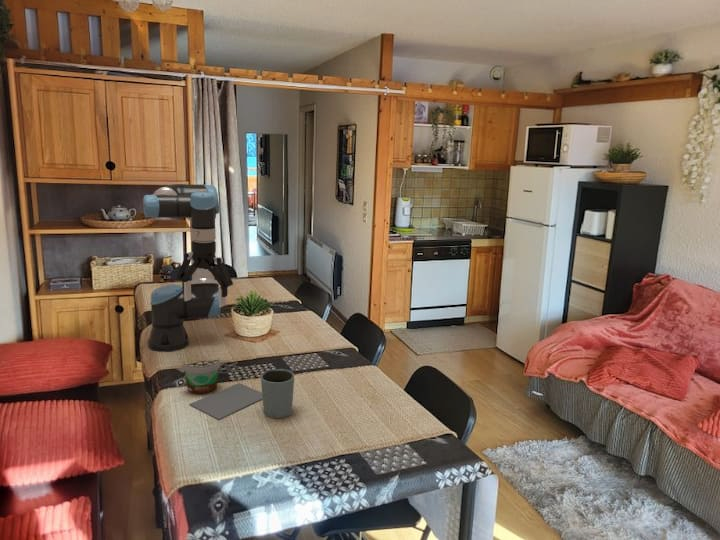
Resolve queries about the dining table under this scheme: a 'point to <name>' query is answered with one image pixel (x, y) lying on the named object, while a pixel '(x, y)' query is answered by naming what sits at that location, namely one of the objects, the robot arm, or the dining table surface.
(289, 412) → the grey green cup
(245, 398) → the mat
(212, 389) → the food container
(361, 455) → the dining table surface
